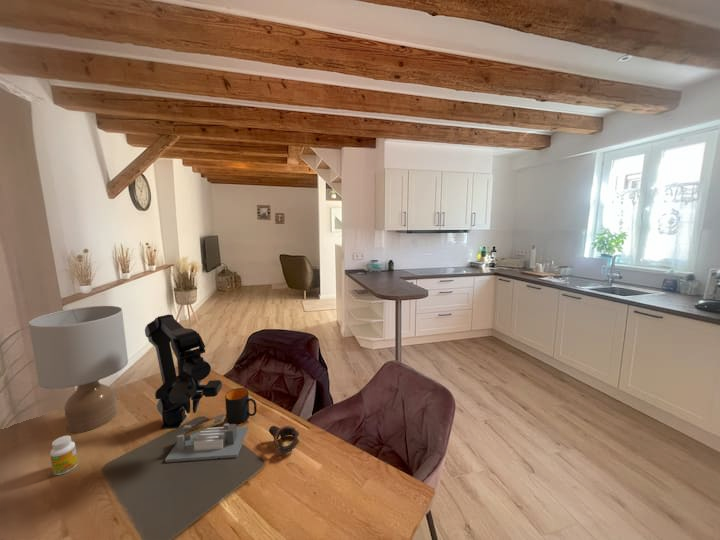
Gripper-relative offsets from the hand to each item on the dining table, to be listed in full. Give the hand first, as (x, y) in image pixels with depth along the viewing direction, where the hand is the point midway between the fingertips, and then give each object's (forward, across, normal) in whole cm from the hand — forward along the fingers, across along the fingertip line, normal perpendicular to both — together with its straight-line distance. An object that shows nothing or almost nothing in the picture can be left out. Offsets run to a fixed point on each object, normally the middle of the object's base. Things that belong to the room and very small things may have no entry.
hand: (191, 412), depth 96 cm
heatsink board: (+12, +5, 0) cm, 13 cm away
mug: (+13, +12, +13) cm, 22 cm away
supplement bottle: (+13, -35, -6) cm, 38 cm away
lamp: (+13, -44, +17) cm, 49 cm away
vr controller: (+13, +30, -3) cm, 33 cm away
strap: (+6, +3, 0) cm, 7 cm away
